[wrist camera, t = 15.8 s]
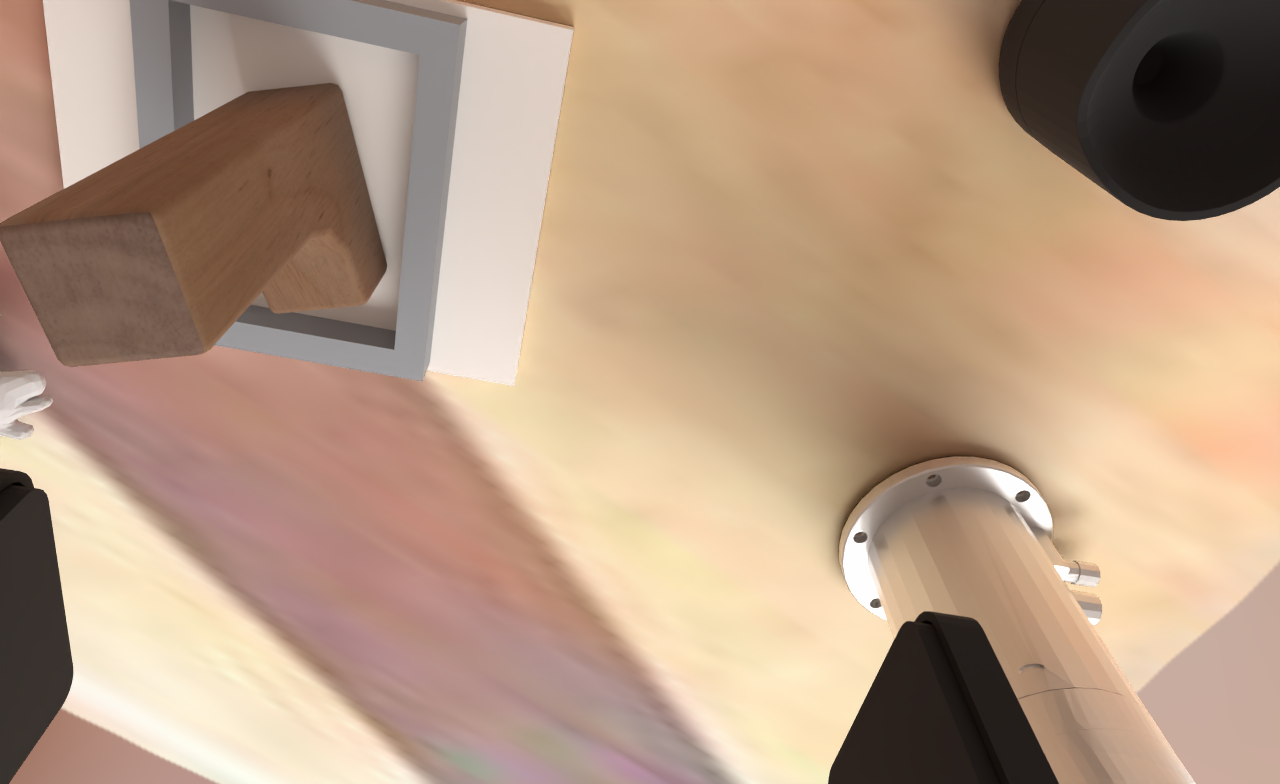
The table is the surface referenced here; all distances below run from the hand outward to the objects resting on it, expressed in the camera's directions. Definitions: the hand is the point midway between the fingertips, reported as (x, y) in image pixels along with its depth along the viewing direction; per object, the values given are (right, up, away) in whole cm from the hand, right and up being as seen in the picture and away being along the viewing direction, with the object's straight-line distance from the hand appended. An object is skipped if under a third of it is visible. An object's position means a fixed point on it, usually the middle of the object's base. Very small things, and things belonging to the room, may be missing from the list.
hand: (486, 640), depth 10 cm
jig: (-14, +13, +32) cm, 37 cm away
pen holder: (+22, +18, +30) cm, 41 cm away
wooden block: (-13, +13, +31) cm, 36 cm away
